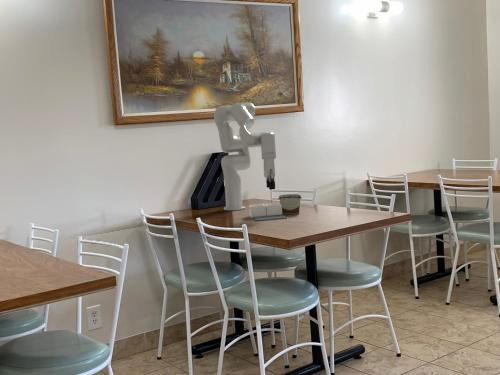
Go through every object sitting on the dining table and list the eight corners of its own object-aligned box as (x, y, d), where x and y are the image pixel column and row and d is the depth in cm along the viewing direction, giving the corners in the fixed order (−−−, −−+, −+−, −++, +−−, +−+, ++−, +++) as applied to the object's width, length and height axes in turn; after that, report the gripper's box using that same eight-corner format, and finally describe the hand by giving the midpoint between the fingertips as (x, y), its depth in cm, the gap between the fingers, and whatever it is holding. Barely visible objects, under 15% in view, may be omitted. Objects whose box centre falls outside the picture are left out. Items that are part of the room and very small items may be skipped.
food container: (302, 212, 342) (301, 193, 341) (302, 213, 336) (301, 195, 335) (279, 212, 343) (278, 194, 342) (278, 214, 337) (278, 195, 336)
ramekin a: (249, 216, 340) (248, 205, 339) (264, 214, 341) (263, 203, 340) (251, 218, 332) (250, 207, 332) (266, 217, 333) (265, 205, 332)
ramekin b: (265, 214, 341) (264, 203, 340) (279, 213, 342) (279, 202, 341) (267, 217, 333) (266, 205, 332) (282, 215, 334) (281, 204, 333)
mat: (252, 217, 334) (252, 216, 334) (282, 215, 336) (282, 213, 336) (255, 221, 322) (255, 220, 322) (286, 218, 324) (286, 217, 324)
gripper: (259, 155, 342) (261, 187, 344) (263, 157, 325) (266, 190, 327) (273, 154, 343) (275, 186, 345) (278, 156, 326) (280, 189, 328)
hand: (271, 188), depth 336 cm, fingers open, 9 cm apart
